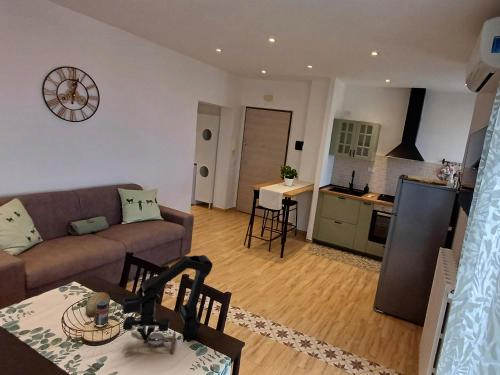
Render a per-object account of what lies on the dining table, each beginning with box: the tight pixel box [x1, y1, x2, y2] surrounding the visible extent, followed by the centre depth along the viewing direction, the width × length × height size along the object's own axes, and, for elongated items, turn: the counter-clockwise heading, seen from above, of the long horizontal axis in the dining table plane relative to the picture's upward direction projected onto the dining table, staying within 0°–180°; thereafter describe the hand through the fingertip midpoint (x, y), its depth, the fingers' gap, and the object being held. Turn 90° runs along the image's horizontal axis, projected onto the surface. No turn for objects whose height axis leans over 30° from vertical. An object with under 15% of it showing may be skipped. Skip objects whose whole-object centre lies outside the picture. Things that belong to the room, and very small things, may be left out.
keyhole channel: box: [123, 330, 177, 357], centre depth 143 cm, size 20×14×3 cm
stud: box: [147, 332, 166, 348], centre depth 143 cm, size 7×7×4 cm
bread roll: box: [85, 291, 111, 317], centre depth 163 cm, size 10×15×8 cm, turn 179°
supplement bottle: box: [93, 301, 110, 325], centre depth 152 cm, size 6×6×11 cm
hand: (145, 340), depth 142 cm, fingers closed
